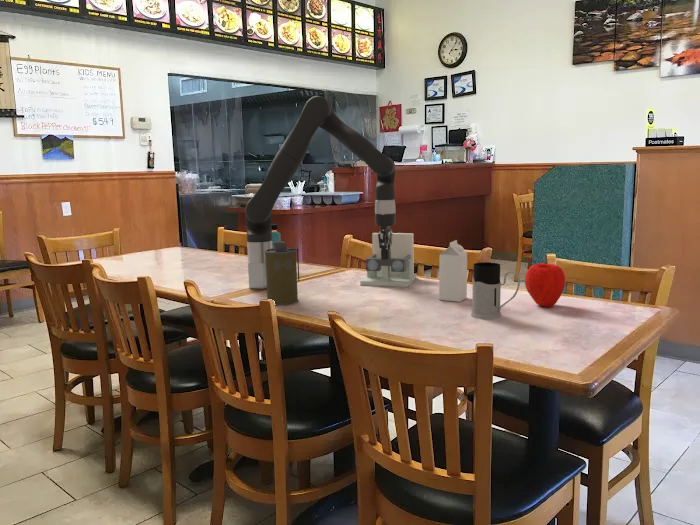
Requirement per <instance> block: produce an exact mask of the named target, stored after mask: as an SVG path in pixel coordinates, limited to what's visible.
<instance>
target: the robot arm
mask: <svg viewBox="0 0 700 525" xmlns="http://www.w3.org/2000/svg"><path fill="white" fill-rule="evenodd" d="M319 128H320V129H322V130H324V131H325V132H327V133H328V134H330V135H331V136H332V137H334V138H335V139H337V140H338V141H339V142H340V143H341V144H342V145H343V146H344V147H346V148H347V150H348V151H350V152H351V153H352V154H354V156H355V157H357V158H358V159H360V160H361V161H362V162H363V163H364V164H365V165H367V166H368V167H369V169H371V170H372V172H374V173H375V174H376V184H375V185H376V186H375V190H374V191H375V194H374V195H375V196H374V197H375V203H374V224H375V226H377V227H379V226H380V229H379V231H378V232H377V233H378V239H379V248H381V258H382V260H387V259H388V249H390V248H389V247H391V245H392V233H394V232H393V229H391V226H395V225H396V224H397V223H396V222H397V221H396V219H397V218H396V215H397V214H396V212H397V211H396V201H395V200H396V199H395V197H396V196H395V190H396V189H395V180H396V179H395V177H396V165H395V162H394V160H393V159H392V158H390V157H389V156H387V155H385V154H384V153H382V152H381V151H380V150H379V149H377V147H376V146H375V145H374V144H373V143H372V142H370V141H369V139H368V138H366V137H365V136H364V135H362V133H360V132H358V131H357V130H355V129H353V128H352V127H351V126H349V125H348V124H346V123H345V122H344V121H342V120H341V119H340V118H339V117H338V116H337V115H336V114H335V112H334V111H333V110H332V108H331V104H329V102H328V100H327V99H326V98H325V97H323V96H320V95H314V96H311V98H309V99H308V100H307V101H306V102H305V104H304V106H303V109H302V111H301V113H300V116H299V117H298V120H297V122H296V123H295V125H294V126H293V128H292V129H291V131H290V132H289V134H288V136H287V138H286V139H285V140H284V142H283V144H282V145H281V146H280V149H279V150H278V152H276V154H275V156H274V158H273V160H272V162H271V164H270V166H269V168H268V170H267V173H266V175H265V177H264V180H263V181H262V183H261V185H260V187H259V188H258V189H257V191H256V192H255V193H254V195H253V197H251V198H250V199H249V200H248V202H247V203H246V205H245V208H244V212H245V222H246V241H247V242H246V243H247V244H246V246H247V247H246V249H247V274H248V289H258V290H259V289H260V290H261V289H262V290H264V289H267V283H266V263H265V252H264V251H265V250H267V249H272V232H273V229H272V228H271V224H272V211H273V209H274V207H275V205H276V202H277V200H278V199H279V197H280V195H281V193H282V192H283V191H284V189H285V188H286V186H288V184H289V183H290V181H291V180H292V179H293V177H294V176H295V174H296V173H297V172H298V170H299V168H300V166H301V164H302V163H303V161H304V159H305V157H306V154H307V151H308V148H309V146H310V144H311V140H312V138H313V136H314V134H315V133H316V132H317V130H318V129H319ZM383 243H384V245H383Z"/></svg>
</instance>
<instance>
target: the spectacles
mask: <svg viewBox="0 0 700 525" xmlns="http://www.w3.org/2000/svg"><path fill="white" fill-rule="evenodd" d="M408 259H410V255H407V256H406V257H404V258H391V249H388V259H387V260H382V258H376V254H373V253H372V255H370V256H368V257H367V258H366V259H365V268H366V269H365V270H366V272H367V271H380V270H381V266H391V272H405V271H406V261H407V260H408Z"/></svg>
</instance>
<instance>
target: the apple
mask: <svg viewBox="0 0 700 525" xmlns="http://www.w3.org/2000/svg"><path fill="white" fill-rule="evenodd" d="M524 284H525V285H524V286H525V289H526V291H527V293H528V294H529V295H530V297H531V299H532V301H534V302H535V303H536V304H537V305H538V306H541V307H546V308H551V307H554V306H555V304H557V302H558V301H559V300H560V298H561V297H562V294H563V292H564V290H565V288H566V275H565V272H564V271H563V269H562V267H560V266H559V265H557V264H554V263H553V264H552V263H547V262H545V263H542V262H540V263H535V264H533V265H531V266H530V267H529V268H528V269H527V271H526V273H525V278H524Z"/></svg>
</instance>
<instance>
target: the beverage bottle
mask: <svg viewBox="0 0 700 525" xmlns="http://www.w3.org/2000/svg"><path fill="white" fill-rule="evenodd" d="M271 228H272V230H278V229H279V228H278V224H277V223H271ZM281 235H282V234H281V233H280V232H279V231H272V242H280V241H282V239H281ZM272 248H274V245H273V244H272Z"/></svg>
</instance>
